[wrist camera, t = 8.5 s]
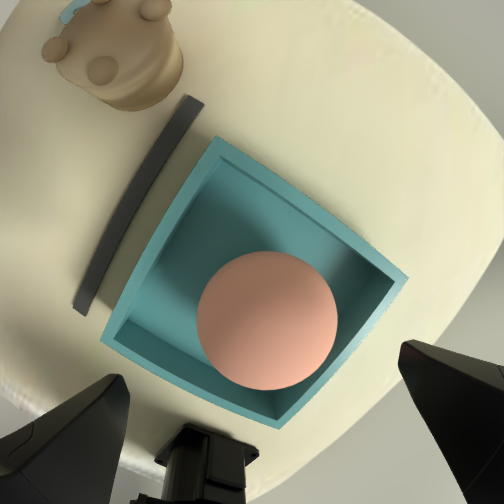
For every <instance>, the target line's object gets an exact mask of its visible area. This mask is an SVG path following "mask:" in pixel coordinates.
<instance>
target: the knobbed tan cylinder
mask: <svg viewBox="0 0 504 504" xmlns="http://www.w3.org/2000/svg"><path fill="white" fill-rule="evenodd" d="M171 8H172V4H171V1H170V0H91V2H89V3H88V4H86V5H85V6H84V7H83V8H81V9H80V10H79V11H78V12H77V13H76V14H75V15H74V16H73V17H72V18H71V19H70V21H69V22H68V23H67V25H66V26H65V28H64V29H63V31H62V33H61V35H60V37H53V38H51V39H50V40H48V41H47V42H46V43H45V45H44V46H43V49H42V57H43V59H44V60H45V61H46V62H49V63H54V62H56V67H57V69H58V71H59V73H60V74H61V75H62V76H63V77H64V78H65V79H66V80H68V81H70V82H71V83H73V84H75V85H77V86H78V87H80V88H82V89H84V90H85V91H87V92H89V93H90V94H92V95H94V96H95V97H97V98H99V99H100V100H102V101H104V102H105V103H107V104H109V105H110V106H112V107H114V108H116V109H119V110H122V111H138V110H142V109H145V108H148V107H151V106H153V105H155V104H156V103H158V102H160V101H161V100H162V99H164V98H165V97H166V96H167V95H168V94H169V93H170V92H171V91H172V90H173V89H174V87H175V86H176V84H177V83H178V81H179V79H180V76H181V74H182V70H183V56H182V52H181V50H180V47H179V45H178V42H177V40H176V37H175V35H174V32H173V30H172V27H171V25H170V22H169V20H168V17H167V15H168V14H169V13H170V11H171Z"/></svg>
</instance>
